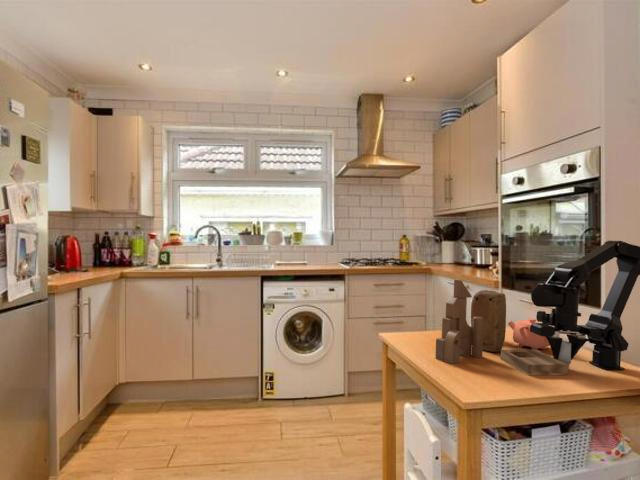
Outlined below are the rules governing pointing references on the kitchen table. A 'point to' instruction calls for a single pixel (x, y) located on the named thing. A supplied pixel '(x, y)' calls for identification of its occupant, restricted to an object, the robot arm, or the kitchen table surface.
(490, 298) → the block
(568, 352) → the peg
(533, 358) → the board
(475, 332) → the wooden toy
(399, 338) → the kitchen table surface
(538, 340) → the teapot
